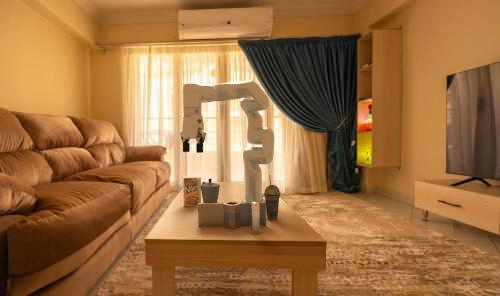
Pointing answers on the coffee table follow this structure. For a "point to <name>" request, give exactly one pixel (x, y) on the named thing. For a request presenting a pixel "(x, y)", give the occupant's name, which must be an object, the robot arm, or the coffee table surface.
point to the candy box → (192, 191)
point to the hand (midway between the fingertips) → (192, 152)
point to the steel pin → (255, 218)
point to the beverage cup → (272, 201)
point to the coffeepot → (210, 192)
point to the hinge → (228, 214)
